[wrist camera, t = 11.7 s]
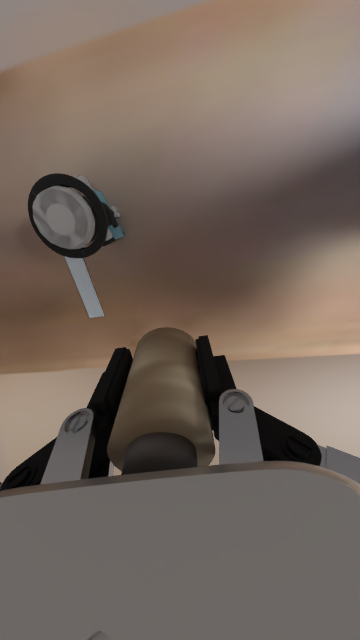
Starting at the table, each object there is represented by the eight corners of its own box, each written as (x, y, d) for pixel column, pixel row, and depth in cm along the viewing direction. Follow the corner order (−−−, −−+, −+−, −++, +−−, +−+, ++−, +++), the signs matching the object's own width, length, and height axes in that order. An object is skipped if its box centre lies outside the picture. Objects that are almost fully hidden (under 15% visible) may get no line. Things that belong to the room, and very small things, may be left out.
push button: (64, 191, 21) (-20, 173, 12) (106, 165, 20) (50, 123, 11) (101, 251, 24) (56, 273, 15) (140, 230, 23) (117, 240, 14)
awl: (195, 323, 12) (258, 657, 3) (200, 374, 14) (248, 672, 5) (129, 331, 12) (-8, 670, 3) (143, 380, 14) (84, 680, 5)
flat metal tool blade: (64, 209, 22) (63, 209, 21) (104, 315, 28) (103, 316, 27) (47, 212, 22) (46, 212, 22) (90, 317, 28) (89, 318, 27)
